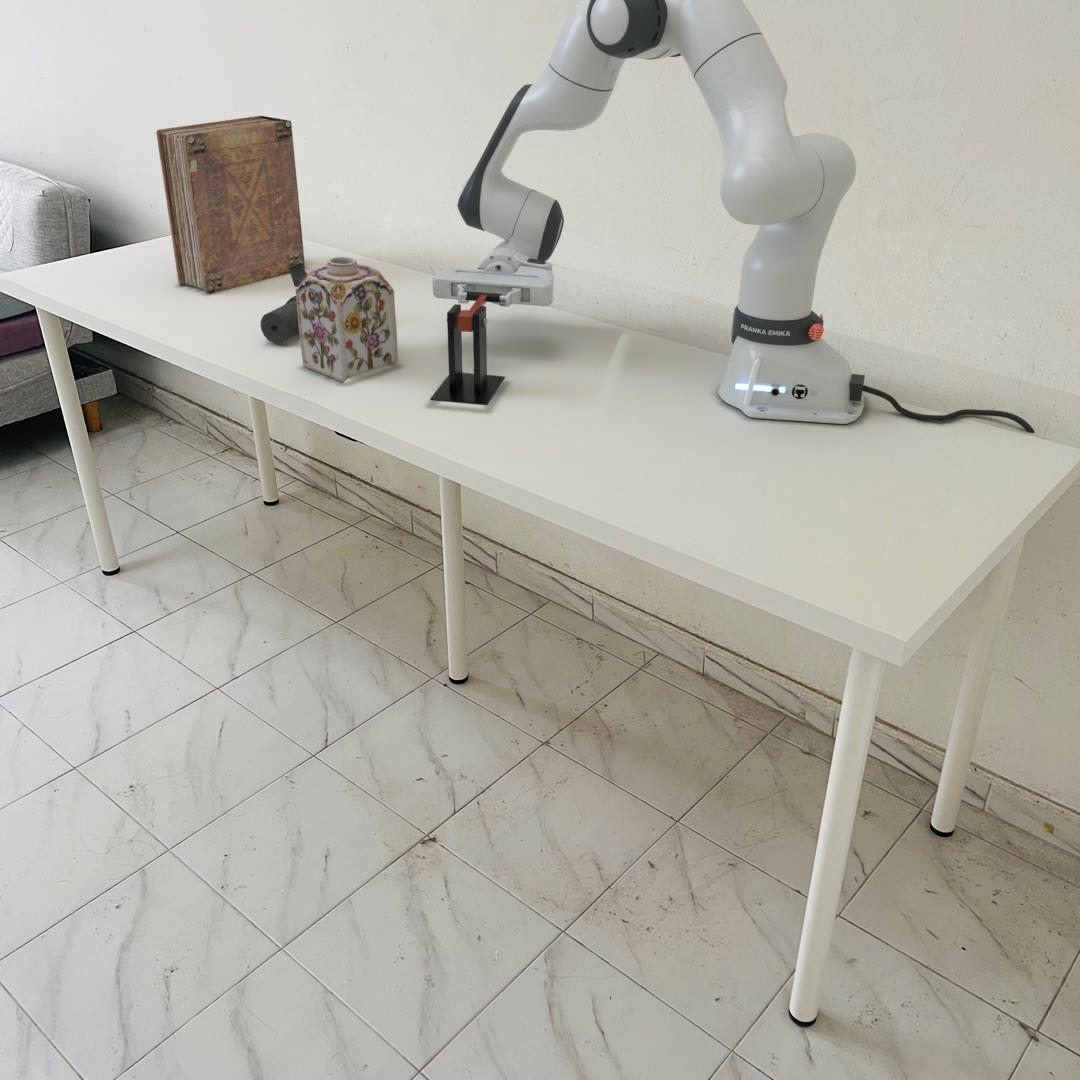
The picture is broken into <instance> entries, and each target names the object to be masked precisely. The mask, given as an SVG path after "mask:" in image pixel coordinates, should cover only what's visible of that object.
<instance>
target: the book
mask: <svg viewBox="0 0 1080 1080" xmlns="http://www.w3.org/2000/svg"><path fill="white" fill-rule="evenodd" d="M292 125H293V124H292V121H291V120H288V119H283V118H276V117H272V116H271V117H270V116H265V115H256V116H248V117H241V118H234V119H227V120H226V119H225V120H217V121H211V122H204V123H196V124H189V125H183V126H182V125H181V126H175V127H168V128H159V129H157V130H156V132H155V133H156V141H157V147H158V153H159V154H158V155H159V160H160V168H161V173H162V180H163V181H162V182H163V187H164V193H165V200H166V207H167V213H168V221H169V228H170V234H171V242H172V248H173V254H174V262H175V268H176V276H177V282H178V285H179V286H180V287H182V286H186V285H189V286H191V287H194V288H197V289H201V290H204V292H205V294H207V295H208V294H214V293H217V292H222V291H224V290H229V289H232V288H236V287H240V286H243V285H247V284H251V283H255V282H258V281H262V280H265V279H269V278H272V277H277V276H280V275H283V274H288V273H290V271H289V268H288V267H289V266H292V265H294V264H296V263H298V262H302V266H303V269H305V268H306V265H305V264H306V263H305V252H304V241H303V232H302V222H301V209H300V201H299V190H298V189H299V188H298V178H297V167H296V157H295V147H294V137H293V126H292Z"/></svg>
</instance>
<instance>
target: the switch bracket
mask: <svg viewBox="0 0 1080 1080" xmlns="http://www.w3.org/2000/svg"><path fill="white" fill-rule="evenodd" d="M461 311H462V305H461V304H460V303H458V304H457V303H455V304H453V305H452V307H450V309H449V310H448V311H447V312H446V324H447V354H448V357H447V358H448V359H447V360H448V375H447V377H445V379H444V380H443V382H442V383H441V384H440V386H439V387H438V388H437V390H436V391H435V392H434V393H433V395H432V396H431V397H430V399H429V400H430V401H436V402H446V403H448V402H449V403H457V404H469V405H480V406H488V404H489V403H490V402H491V400H492V398H493V397H494V395H495V394H496V392H497V391H498V389H499V388H500V386H501V384H502V383H503V381H504V380H505V378H506V376H505V375H493V374H488V349H487V348H488V345H487V344H488V343H487V341H488V338H487V337H488V336H487V325H488V318H487V306H485V305H484V306H480V307H479V308H478V309H477V310H476V311H475V313H474V314H473V331H472V343H473V344H472V347H473V349H472V351H473V373H471V372H464V371H463V339H462V338H463V336H462V335H463V334H462V333H463V331H458V318H457V316H458V315H459V313H460V312H461Z"/></svg>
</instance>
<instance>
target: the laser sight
mask: <svg viewBox="0 0 1080 1080" xmlns="http://www.w3.org/2000/svg"><path fill="white" fill-rule="evenodd" d="M288 268H289V271H290V272H289V274H290V277H291V279H292V283H293V285H294V288H298V286H299V284H300V283H301V282H302V280H303V279H304V278H305V277H306V276H307V274H308V273H307V271H306V270H305V268H303V266H302V262H298V263H296V264H294V265H292V266H289V267H288ZM260 329H261V332H262V335H263V336H264V337H265V339H266V340H267V341H269V342H270V343H272V344H275V345H280V344H283V343H285V342H286V341H288V340H290V339H292V338H294V337H295V336H297V335H300V334H299V323H298V311H297V300H296V295H293V296H291V297H290V298H289V299H288V300H287V301H286V302H285V303H284V304H283V305H282V306H279V307H276V308H275V309H273V310H271V311H269V312H267V313H265V314H264V315H263V316H262V317H261V319H260Z"/></svg>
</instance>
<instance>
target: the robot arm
mask: <svg viewBox="0 0 1080 1080" xmlns="http://www.w3.org/2000/svg"><path fill="white" fill-rule="evenodd" d="M677 57H682V58H683V60H684V62H685V63H686V66H687V67H688V70H689V72H690V73H691V76H692V78H693V80H694V82H695V84H696V87H698V90H699V92H700V94H701V96H702V98H703V100H704V102H705V104H706V106H707V108H708V110H709V112H710V114H711V116H712V118H713V120H714V123H715V126H716V128H717V131H718V134H719V139H720V143H721V147H722V153H723V161H724V167H723V172H722V174H721V177H720V183H719V194H720V199H721V203H722V205H723V208H724V209H725V211H726V212H727V214H728V215H729V216H730V217H731V218H732V219H733V220H735V221H736V222H739V223H741V224H744V225H750V226H751V225H752V226H753V225H754V226H759V227H758V230H757V232H756V234H755V236H754V238H753V240H752V242H751V243H750V245H749V246H748V247H747V249H746V251H745V253H744V254H743V258H742V261H741V271H740V281H739V291H738V300H737V305H736V307H734V311H733V314H732V322H731V332H730V336H731V349H730V354H729V358H728V362H727V366H726V369H725V373H724V376H723V379H722V382H721V384H720V387H719V388H718V390H717V391H718V392H717V393H718V396H719V398H720V399H721V400H722V401H724V402H725V403H726V404H728V405H730V406H732V407H734V408H736V409H739V410H740V411H741V412H742V413H743V414H744V415H745V416H747V417H749V418H751V419H753V418H754V419H765V420H778V421H793V422H794V421H795V422H809V423H821V424H823V423H824V424H839V425H847V424H850V423H853V422H854V421H856V420H858V419H859V418H860V417H861V416H862V414H863V412H864V409H865V408H864V407H865V397H864V394H863V392H865V393H868V394H871V395H874V396H877V397H879V398H881V399H884V400H886V401H887V402H889V403H890V404H891V405H892V407H893V408H894V409H895V410H896V411H897V412H898V413H900V414H901V415H904V416H906V417H909V418H912V419H914V420H918V421H919V420H920V421H929V422H946V421H951V420H954V419H956V418H959V417H963V416H980V417H981V416H983V417H998V418H999V417H1000V418H1004V419H1009V420H1011V421H1013V422H1015V423H1017V424H1018V425H1019V426H1021V427H1022V428H1023V429H1024V430H1025V431H1026V432H1027V433H1029V434H1035V430H1034V428H1033V427H1032V426H1031V425H1030V423H1028V422H1027V421H1026V420H1025V419H1024V418H1022V417H1020V416H1018V415H1017V414H1014V413H1013V412H1007V411H1003V410H996V409H995V410H994V409H975V408H973V409H972V408H968V409H967V408H966V409H965V408H964V409H959V410H955V411H954V412H950V413H948V414H923V413H917V412H914V411H911V410H908V409H906V408H904V407H903V406H901V404H900V403H899V402H898V401H897V399H895V398H894V396H891V394H889V393H887V392H885V391H882V390H880V389H877V388H874V387H872V386H868V385H866V384H865V378H866V375H865V374H856V373H852V370H851V366H850V363H849V361H848V360H847V359H846V358H845V357H844V356H843V355H842V354H840V353H839V352H838V351H837V350H836V349H835V348H833V346H832V345H830V344H829V343H828V342H827V341H826V340H825V339H824V338H823V334H824V332H825V331H824V330H825V329H824V315H823V313H820V315H818V314H817V313H816V312H814V311H813V300H814V293H815V288H816V281H817V274H818V267H819V263H820V260H821V259H820V258H821V256H822V252H823V249H824V248H825V247H824V246H825V244H826V242H827V238H828V236H829V233H830V230H831V228H832V225H833V221H834V219H835V217H836V214H837V211H838V209H839V207H840V204H841V203H842V201H843V199H844V198H845V196H846V194H847V193H848V192H849V190H850V189H851V187H852V186H853V183H854V181H855V178H856V174H857V163H856V158H855V155H854V152H853V150H852V149H851V147H850V146H849V144H848V143H846V142H845V141H844V140H843V139H842V138H840V137H837V136H833V135H830V134H826V133H818V132H817V133H815V132H811V133H805V134H801V135H796V136H795V135H794V134H793V133H792V130H791V129H790V126H789V125H790V124H789V122H788V118H787V117H788V116H787V113H786V106H785V105H786V104H785V100H786V97H787V94H788V83H787V80H786V77H785V75H784V73H783V72H782V70H781V68H780V66H779V64H778V62H777V60H776V57H775V56H774V54H773V52H772V50H771V48H770V46H769V44H768V42H767V40H766V38H765V36H764V34H763V32H762V30H761V29H760V26H759V24H758V23H757V22H756V20H755V18H754V16H753V15H752V13H751V12H750V10H749V9H748V7H747V5H746V4H745V3H744V1H743V0H581V1H580V2H578V3H577V4H575V6H574V7H573V8H572V10H571V11H570V13H569V16H568V17H567V19H566V21H565V23H564V24H563V27H562V28H561V31H560V33H559V35H558V37H557V39H556V42H555V44H554V47H553V49H552V52H551V55H550V58H549V59H548V64H547V66H546V68H545V70H544V72H543V74H542V75H540V77H539V78H538V79H537V80H536V81H535V82H534V83H530V84H529V83H528V84H524V85H522V86H521V88H520V89H519V90H518V91H517V92H516V93H515V95H514V96H513V98H512V99H511V101H510V103H509V104H508V106H507V107H506V110H505V111H504V113H503V115H502V116H501V118H500V120H499V122H498V124H497V127H495V130H494V132H493V133H492V135H491V137H490V139H489V141H488V143H487V144H486V147H485V148H484V151H483V153H482V155H481V156H480V159H479V160H478V162H477V164H476V166H475V167H474V170H473V171H472V172H471V174H470V175H469V176H468V177H467V179H466V180H465V181H464V184H463V185H462V187H461V189H460V192H459V194H458V199H457V203H456V205H457V209H458V212H459V214H460V217H461V218H462V220H463V222H464V223H465V225H466V226H467V227H471V228H474V229H476V230H480V231H482V232H486V233H488V234H491V235H493V236H496V237H498V238H500V239H503V240H502V241H501V242H500V243H499V244H497V245H496V246H495V247H494V248H493V249H492V250H491V252H489V253H488V254H487V255H486V256H485V258H483V260H481V262H480V263H479V265H478V267H477V268H468V267H448V268H444V269H442V270H440V271H439V272H437V273H436V274H434V275H433V277H432V294H433V296H434V297H435V298H437V299H444V300H457V303H458V304H466V305H467V304H468V303H470V301H469V300H467V293H468V291H470V292H484V293H498V294H501V295H500V303H496V302H490V303H491V304H493V305H496V306H499V307H502V308H503V307H504V308H509V307H510V306H511V305H522V306H535V307H550V306H552V305H553V302H554V291H555V290H554V287H555V286H554V285H555V284H554V283H555V281H554V278H555V276H554V273H553V264H552V263H551V262H549V261H548V260H549V259H550V258H551V256H552V255H553V253H554V251H555V249H556V248H557V245H558V243H559V241H560V238H561V235H562V232H563V229H564V224H565V217H564V214H563V210H562V206H561V204H560V202H559V201H558V200H557V199H556V198H554V197H552V196H549V195H547V194H545V193H542V192H540V191H538V190H536V189H534V188H530V187H528V186H526V185H523V184H521V183H520V182H518V181H517V182H516V181H514V180H513V179H510V178H508V177H506V175H505V174H504V173H503V168H504V166H505V164H506V163H507V161H508V159H509V157H510V155H511V153H512V151H513V150H514V148H515V146H516V144H517V142H518V140H519V139H520V137H521V136H522V135H523V134H526V133H528V132H532V131H554V132H555V131H556V132H569V131H576V130H579V129H584V128H586V127H588V126H591V125H592V124H593V123H595V122H596V121H597V120H598V119H600V117H601V116H602V114H603V113H604V111H605V109H606V107H607V105H608V103H609V101H610V98H611V96H612V94H613V91H614V89H615V86H616V82H617V80H618V77H619V74H620V72H621V69H622V67H623V65H624V63H625V61H626V60H627V59H641V60H647V61H650V60H651V61H652V60H660V59H666V58H677Z"/></svg>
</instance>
